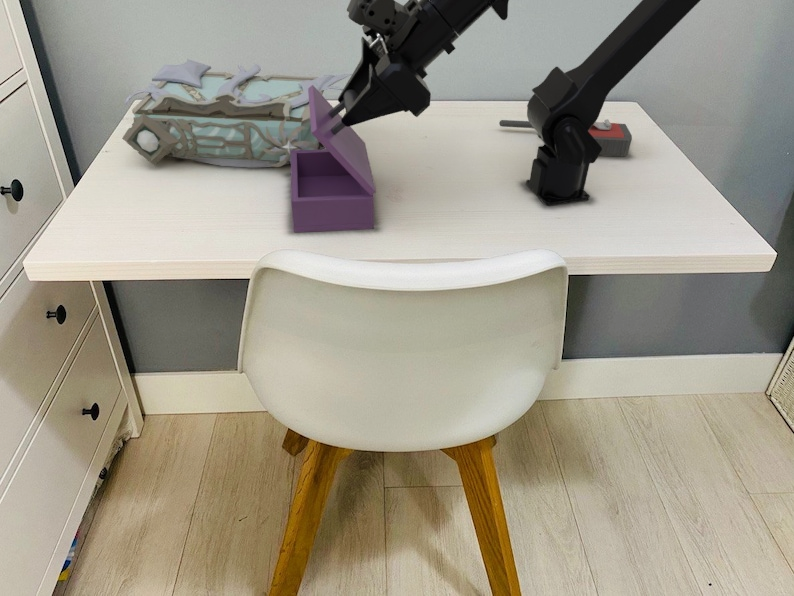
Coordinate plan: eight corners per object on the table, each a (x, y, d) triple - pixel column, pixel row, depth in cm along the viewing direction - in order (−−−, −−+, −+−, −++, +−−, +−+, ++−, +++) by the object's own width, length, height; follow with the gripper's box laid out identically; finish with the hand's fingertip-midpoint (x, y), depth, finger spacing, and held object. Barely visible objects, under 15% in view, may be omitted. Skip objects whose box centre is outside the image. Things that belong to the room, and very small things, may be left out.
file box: (293, 232, 79) (291, 200, 76) (292, 179, 89) (290, 150, 87) (373, 228, 80) (373, 197, 77) (363, 177, 91) (362, 148, 88)
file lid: (311, 133, 71) (346, 104, 70) (307, 88, 82) (338, 62, 81) (371, 196, 77) (404, 170, 76) (360, 146, 88) (389, 123, 86)
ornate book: (122, 175, 91) (337, 180, 89) (102, 108, 85) (332, 112, 83) (176, 113, 109) (355, 116, 107) (162, 53, 103) (353, 56, 101)
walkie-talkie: (623, 134, 105) (497, 128, 105) (630, 107, 102) (501, 101, 102) (636, 158, 98) (501, 152, 98) (644, 130, 95) (505, 123, 95)
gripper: (383, -59, 75) (290, 38, 81) (406, -23, 61) (291, 94, 66) (443, 14, 81) (353, 101, 87) (478, 64, 67) (367, 164, 72)
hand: (342, 112), depth 78 cm, fingers closed on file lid, 6 cm apart
